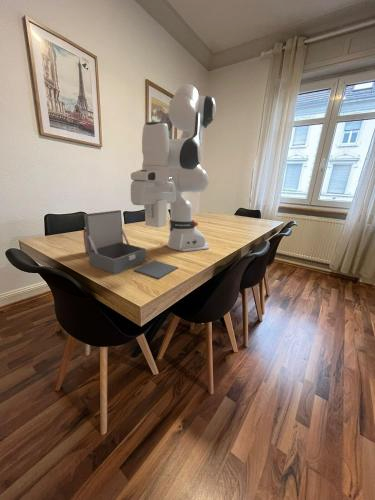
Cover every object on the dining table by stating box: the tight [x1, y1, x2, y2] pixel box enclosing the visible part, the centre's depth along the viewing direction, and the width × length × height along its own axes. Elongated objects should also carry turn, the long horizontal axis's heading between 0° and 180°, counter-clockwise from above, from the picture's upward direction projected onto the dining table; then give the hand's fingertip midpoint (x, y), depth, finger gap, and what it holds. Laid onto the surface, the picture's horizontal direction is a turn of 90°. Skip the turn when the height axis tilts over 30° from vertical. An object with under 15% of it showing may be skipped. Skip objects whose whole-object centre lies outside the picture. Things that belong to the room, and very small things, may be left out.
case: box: [83, 209, 147, 275], centre depth 82 cm, size 15×17×20 cm
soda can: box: [82, 226, 89, 255], centre depth 93 cm, size 7×7×12 cm
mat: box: [133, 260, 179, 280], centre depth 80 cm, size 12×12×1 cm
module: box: [144, 200, 168, 228], centre depth 73 cm, size 6×4×9 cm
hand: (155, 216), depth 74 cm, fingers closed on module, 4 cm apart
